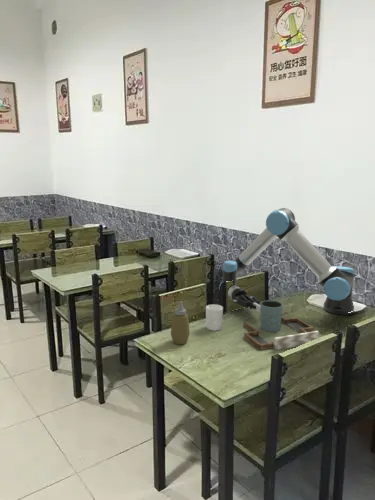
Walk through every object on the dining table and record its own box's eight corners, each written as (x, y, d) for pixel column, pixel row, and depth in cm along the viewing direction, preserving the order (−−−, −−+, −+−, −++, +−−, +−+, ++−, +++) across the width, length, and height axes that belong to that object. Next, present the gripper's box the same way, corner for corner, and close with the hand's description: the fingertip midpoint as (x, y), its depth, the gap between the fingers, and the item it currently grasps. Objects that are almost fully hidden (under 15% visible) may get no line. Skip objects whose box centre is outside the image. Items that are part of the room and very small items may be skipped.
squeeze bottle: (167, 339, 179) (168, 299, 176) (185, 336, 182) (185, 297, 179) (174, 347, 172) (175, 305, 168) (192, 344, 175) (193, 303, 171)
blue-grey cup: (273, 334, 187) (275, 309, 184) (254, 328, 193) (256, 303, 191) (285, 328, 194) (287, 303, 191) (266, 322, 201) (267, 298, 198)
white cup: (221, 332, 188) (222, 311, 186) (203, 330, 190) (204, 309, 188) (223, 325, 196) (224, 305, 194) (206, 323, 197) (207, 303, 195)
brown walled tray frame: (292, 319, 205) (293, 309, 204) (329, 340, 181) (330, 329, 180) (231, 327, 193) (232, 317, 192) (262, 352, 169) (263, 340, 168)
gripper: (247, 300, 224) (272, 315, 203) (226, 302, 220) (248, 318, 198) (248, 286, 223) (273, 300, 201) (226, 289, 218) (249, 303, 197)
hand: (261, 309), depth 200 cm, fingers closed
